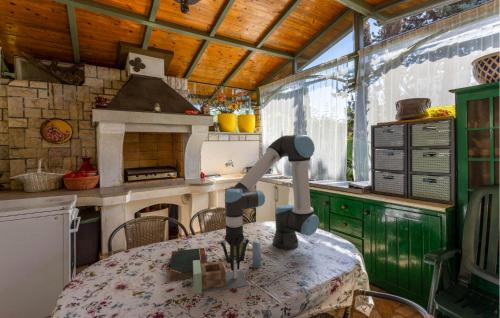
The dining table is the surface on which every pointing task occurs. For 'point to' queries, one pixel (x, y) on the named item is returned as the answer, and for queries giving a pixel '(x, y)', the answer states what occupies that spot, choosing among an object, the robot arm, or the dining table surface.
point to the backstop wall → (197, 276)
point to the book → (185, 262)
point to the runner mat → (231, 282)
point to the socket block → (213, 275)
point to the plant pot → (239, 248)
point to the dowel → (256, 254)
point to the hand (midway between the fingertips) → (235, 276)
